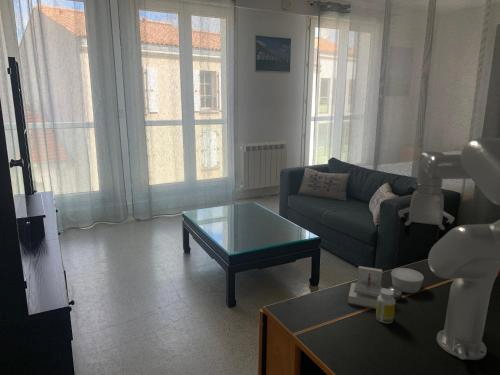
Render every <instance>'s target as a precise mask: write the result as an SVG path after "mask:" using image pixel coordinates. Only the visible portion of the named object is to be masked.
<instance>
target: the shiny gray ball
mask: <svg viewBox="0 0 500 375" xmlns="http://www.w3.org/2000/svg"><path fill="white" fill-rule="evenodd" d="M388 289H390V290H392V291H393V292H394V297H393V298H394V299H395V301H399V300H401V299H402V289H401V288H399V287H396V286H393V285H390V286H389V287H388Z"/></svg>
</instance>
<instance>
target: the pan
mask: <svg viewBox="0 0 500 375" xmlns="http://www.w3.org/2000/svg"><path fill="white" fill-rule="evenodd" d="M355 283H356V284H355V289H354V292H355V293H360V294H366V295H371V296H377V297H378V296H380V292H381V290H382V288H383V286H382V285H381V286H379V285H373V284H368V283H362V282H357V281H355Z"/></svg>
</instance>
